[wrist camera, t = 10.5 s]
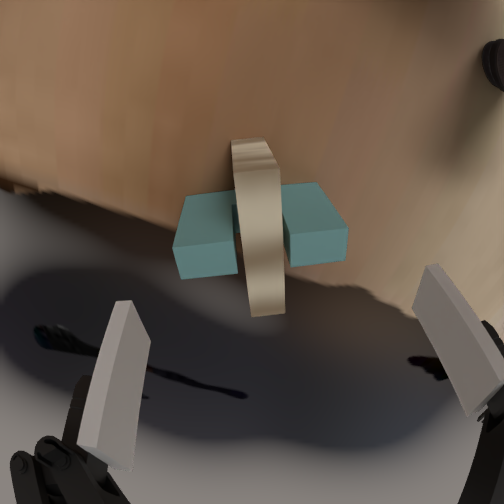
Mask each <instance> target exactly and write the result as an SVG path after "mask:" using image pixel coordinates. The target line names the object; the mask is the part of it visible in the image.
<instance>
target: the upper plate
mask: <svg viewBox="0 0 504 504" xmlns="http://www.w3.org/2000/svg"><path fill="white" fill-rule="evenodd" d="M231 148H232V162H233V175H234V183H235V192H236V200H237V208H238V216H239V224H240V232H241V240H242V248H243V256H244V264H245V272H246V280H247V288H248V295H249V303H250V310H251V317H258V316H266V315H275V314H282V313H285V284H284V251H283V225H282V202H281V182H280V168H279V166H278V164H277V162H276V160H275V158H274V156H273V154H272V152H271V151H270V149H269V147H268V145H267V143H266V141H265V139H264V137H258V138H248V139H239V140H231Z"/></svg>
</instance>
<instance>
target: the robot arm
mask: <svg viewBox="0 0 504 504" xmlns="http://www.w3.org/2000/svg"><path fill="white" fill-rule="evenodd" d="M412 309H413V311H414V313H415V315H416V316H417V318H418V320H419V321H420V323H421V325H422V327H423V329H424V331H425V332H426V334H427V336H428V338H429V340H430V342H431V343H432V345H433V347H434V349H435V351H436V353H437V355H438V357H439V359H440V361H441V363H442V365H443V367H444V369H445V371H446V373H447V375H448V377H449V379H450V381H451V383H452V385H453V387H454V390H455V392H456V394H457V396H458V398H459V400H460V403H461V405H462V407H463V409H464V412H465V414H466V416H467V417H468V416H470V415H472V414H474V413H476V412H477V411H479V410H481V409H482V408H483V407H484V405H486V404H487V406H488V409H486V410H485V411H484V412H483V413H482V414H481V415H480V416H479V417H478V420H477V421H478V422H479V421H480V420H481V419H482V418H483V417H484V416H485V417H484V420H483V421H482V423H483V426H482V431H481V434H480V438H479V442H478V446H477V449H476V453H475V457H474V459H473V463H472V466H471V469H470V472H469V475H468V478H467V481H466V484H465V486H464V489H463V492H462V494H461V497H460V499H459V502H458V504H504V343H503V341H502V340H501V338H499V335H498V334H497V332H496V330H495V329H494V327H493V326H491V325H490V324H489V323H488V322H487V321H485V320H484V321H480V320H479V318H478V317H477V315H476V314H475V312H474V311H473V310H472V308H471V307H470V305H469V304H468V302H467V301H466V300H465V298H464V297H463V295H462V294H461V293H460V291H459V290H458V289H457V287H456V286H455V285H454V283H453V282H452V281H451V279H450V278H449V277H448V275H447V274H446V273H445V272H444V270H443V269H442V268H441V266H440V265H439V264H432V265H426V267H425V270H424V273H423V276H422V279H421V283H420V286H419V289H418V292H417V295H416V297H415V300H414V303H413V306H412ZM150 343H151V341H150V338H149V336H148V334H147V332H146V330H145V328H144V326H143V324H142V322H141V320H140V318H139V316H138V313H137V311H136V309H135V307H134V305H133V302H132V301H131V300H130V301H116V303H115V306H114V309H113V312H112V315H111V318H110V321H109V324H108V327H107V330H106V333H105V336H104V339H103V342H102V345H101V349H100V352H99V355H98V359H97V362H96V366H95V369H94V373H93V376H87V375H83V376H82V377H81V378H80V380H79V381H78V383H77V384H76V386H75V389H74V393H73V399H72V401H71V404H70V409H69V412H68V416H67V420H66V424H65V428H64V433H63V437H62V441H60V440H59V439H57V438H55V437H54V436H45V437H42V438H41V439H40V440H39V441H38V442H37V444H36V446H35V452H34V454H35V455H34V456H32V455H30V454H28V453H27V452H25V451H18V452H16V453H14V455H13V456H12V458H11V461H10V471H11V477H12V483H13V488H14V493H15V498H16V502H17V504H130V502H129V501H128V500H127V498H126V497H125V495H124V494H123V493H122V491H121V490H120V488H119V487H118V485H117V484H116V483H115V481H114V480H113V478H112V477H111V475H110V474H109V473H108V472H107V468H108V465H109V466H110V467H112V468H114V469H118V470H125V471H133V460H134V450H135V441H136V432H137V424H138V417H139V409H140V403H141V396H142V389H143V383H144V376H145V371H146V365H147V359H148V354H149V348H150Z"/></svg>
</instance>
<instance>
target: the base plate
mask: <svg viewBox="0 0 504 504" xmlns="http://www.w3.org/2000/svg"><path fill="white" fill-rule="evenodd" d="M281 202H282V225H283V243H284V247H285V250H286V253H287V256H288V260H289V263H290V266H291V267H297V266H305V265H314V264H322V263H329V262H337V261H345V258H346V249H347V240H348V229H349V228H348V227H347V225H346V224H345V222H344V221H343V219H342V218H341V216H340V215H339V213H338V212H337V210H336V209H335V207H334V206H333V205H332V203H331V202H330V200H329V199H328V197H327V196H326V195H325V193H324V192H323V190H322V189H321V188H320V186H319V185H318V184H317V182H312V183H299V184H287V185H281ZM235 233H241V232H240V224H239V216H238V208H237V200H236V192H235V190H229V191H221V192H213V193H205V194H198V195H190V196H186V198H185V202H184V205H183V209H182V213H181V216H180V220H179V224H178V228H177V232H176V235H175V239H174V243H173V247H172V248H173V252H174V256H175V259H176V263H177V267H178V270H179V274H180V277H181V279H191V278H200V277H210V276H219V275H229V274H237V273H238V268H237V253H236V237H235Z"/></svg>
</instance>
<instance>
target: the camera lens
mask: <svg viewBox="0 0 504 504" xmlns="http://www.w3.org/2000/svg"><path fill="white" fill-rule="evenodd" d="M482 61H483V67H484V71H485V73H486V76H487V77H488V79H489V81H490V82H491V83H492V84H493V85H494V86H496V87H498V88H500V89H501V90H502V91H503V92H504V39H498V40H496V41H490V42H488V43H487V44H486V45H485V47H484V49H483V55H482Z"/></svg>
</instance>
